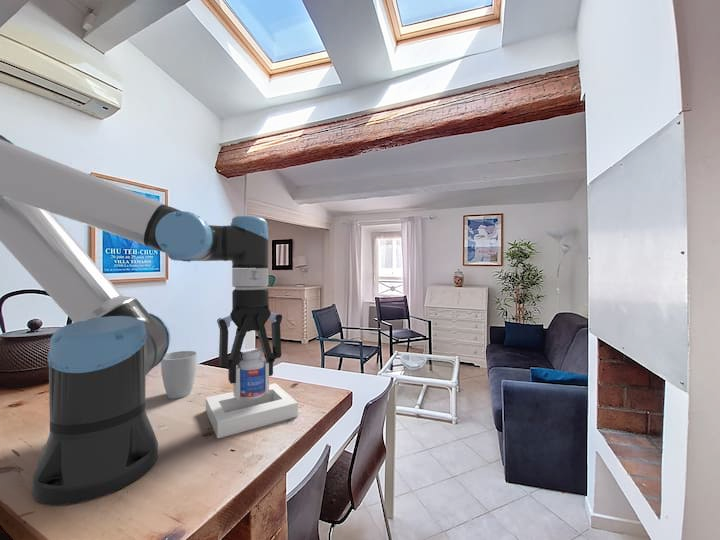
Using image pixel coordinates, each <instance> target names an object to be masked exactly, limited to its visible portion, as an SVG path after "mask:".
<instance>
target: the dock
mask: <svg viewBox="0 0 720 540" xmlns="http://www.w3.org/2000/svg"><path fill="white" fill-rule="evenodd" d="M298 405H299V403H298V402H297V401H296V399H294V398H293V397H292V396H291V395H290V394H289V393H288V392H287V391H285V390H284V389H283V388H282V387H281V386H279V385H278V384H277V383H269V393H265V392H264V394H263V395H262V396H261V397H258V398H255V399H241V398H240V399H238V400H236V398H235V397H234V391H231V392H227V393H221V394H216V395H212V396H211V395H210V396H206V397H205V413H206V414H207V418H208V420H209V422H210V424H211V426H212V428H213V431H214V433H215V435H216V438H217V439H221V438H225V437H229V436H232V435H236V434H239V433H243V432H246V431H251V430H254V429H258V428H261V427H265V426H270V425H272V424H276V423H279V422H283V421H287V420H290V419H294V418H296V417H297V418H298V417H299V414H298V413H299V406H298Z"/></svg>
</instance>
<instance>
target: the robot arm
mask: <svg viewBox="0 0 720 540" xmlns="http://www.w3.org/2000/svg"><path fill="white" fill-rule="evenodd" d="M54 214H55V215H57V216H61V217H63V218H66V219H68V220H71V221H74V222H77V223H80V224H83V225H86V226H89V227H91V228H95V229H97V230H100V231H103V232H106V233H108V234H111V235H115V236H118V237H120V238H124V239H125V240H129V241H132V242H135V243H138V244H140V245H142V246H143V245H144V246H145V247H148V248H151V249H153V250H155V251H159V252H162V253H165V254H166V255H167V257H168V258H169V259H170V260H172V261H181V262H211V261H212V262H213V261H214V262H215V261H217V262H220V261H223V262H227V261H229V262H231V264H232V266H231V268H232V269H231V272H232V273H231V275H232V276H231V278H232V279H231V282H232V283H231V285H232V287H233V288H234V289H233V291H231V292H232V294H231V295H232V296H231V297H232V298H231V301H232V306H231V307H232V309H231V312H230V314H229V315H228V316H225V317H223V318H222V317H218V318H217V320H216V322H217V326H218V328H219V340H218V341H219V342H218V343H219V347H218V363H219V366H220V367H222V368H227V369H228V382H229V383H230V384H233V392H234V397H235V398H236V400H238V399H240V368H239V367H238V366H239V365H238V361H239V358H240V353H241V352H242V351H241V350H242V347H243V344H244V341H245V337H246V334H247V332H252V331H255V332H256V334H257V336H258V340H259V343H260V346H261V351H262V353H263V355H264V359H265V360H264V359H263V361H264V392H265V393H269V384H270V377H272V376H273V374H274V363H275V360H276V359H280V358H281V357H282V341H281V340H282V338H281V323H282V320H283V315H282V314H280V313H275V312H272V311H271V310H270V308H269V307H270V306H269V304H270V303H269V302H270V301H269V300H270V299H269V296H270V295H269V289H268V288H266V287H268V286H269V230H268V222H267V220H266V219H265V218H263V217H260V216H252V215H237V216H234V217H232V219H231V223H230V225H211V224H208V223H207V221H206V220H204V219H203V217H201V216H199V215H197V214H195V213H194V212H190V211H183V210H180V209H177V208H175V207H173V206H169V205H166V204H164V203H163V202H160V201H158V200H155V199H152V198H150V197H147V196H144V195H141V194H139V193H137V192H135V191H132V190H129V189H127V188H124V187H121V186H120V185H117V184H114V183H112V182H109V181H107V180H104V179H101V178H99V177H97V176H94V175H92V174H89V173H86V172H84V171H81V170H78V169H76V168H74V167H71V166H69V165H66V164H63V163H62V162H59V161H56V160H55V159H54V160H53V159H51V158H49V157H46V156H43V155H41V154H39V153H35V152H33V151H31V150H28V149H25V148H23V147H21V146H18V145H16V144H14V142H12V141H11V140H9V139H7V138H6V137H5V136H3V135H1V134H0V242H1V244H2V245H3V246H4V247H5V248H6V249H7V250H8V252H10V254H12V256H13V257H14V258H15V260H17V261H18V262H19V264H20V265H21V266H22V267H23V268H24V269H25V271H27V272H28V274H29V275H30V276H31V277H32V278H33V279H34V280H35V281H36V282H37V283H38V284H39V286H40V287H42V289H43V290H44V291H45V292H46V294H47V295H48V296H49V297H50V298H51V299H52V300H53V301H54V302H55V303H56V304H57V306H58V307H59V308H60V309H61V310H62V312H64V314H66V315H67V316H68V318H69V319H70V320H71V321H72V323H69V324H67V325H64V326H62V327H60V328H58V329H57V330H56V331H55V332H54V333H53V334H52V336H51V337H50V341H49V351H48V352H47V363H48V389H49V390H48V392H49V397H48V398H49V433H48V436H47V437H48V438H47V440H46V442H45V445H44V448H43V450H42V453H41V456H40V458H39V460H38V463H37V465H36V468H35V471H34V474H33V477H32V498H33V500H34V501H35V502H37V503H39V504H43V505H49V506H64V505H72V503H73V504H76V503H83V502H87V501H90V500H93V499H97V498H100V497H103V496H105V495H106V496H107V495H108V494H110V493H112V492H116V491H117V490H120V489H122V488H124V487H126V486H128V485H130V484H131V483H133V482H135V481H136V480H138V479H139V478H141V477H142V476H144V475H145V474H146V473H147V472H148V471H150V470H151V468H152V467H154V465H155V463H156V462H157V460H158V457H159V442H158V439H157V436H156V434H155V431H154V429H153V427H152V424H151V422H150V419H149V417H148V414H147V411H146V376H147V375H148V374H149V373H150V372H151V371H152V369H154V368H155V367H156V366H158V365H159V364H161V361H162V359H163V358H164V356H165V355H166V354H168V353H167V352H168V350H169V348H170V345H171V340H172V339H171V332H170V328H169V326H168V325H167V323H166V322H165V321H164V320H163V319H162V318H160V317H159V316H158V315H156V314H153V313H150V312H149V311H147V309H146V308H145V307H144V306H143V305H142V303H141V302H139V300H138V299H137V298H136V297H133V296H132V297H131V296H125V295H123V294H122V293H121V292H120V291H119V290H118V289H117V287H116V286H115V285H114V283H112V282H111V281H110V279H109V278H108V277H107V275H106V274H105V273H104V272H103V271H102V270H101V269H100V267H98V265H97V264H96V262H94V260H93V259H92V258H91V257H90V256H89V255H88V253H86V251H85V250H84V249H83V248H82V246H81V245H80V243H78V241H76V239H75V238H74V237H73V236H72V234H71V233H70V232H69V231H68V230H67V229H66V227H65V226H64V225H63V224H62V223H61V222H60V221H59V219H58V218H57V217H56V216H55V215H54ZM268 320H269V321H270V322H271V327H270V328H271V344H272V345H271V346H272V348H271V346H270V342H269V339H268V335H267V330H266V327H265V325H266V323H268ZM231 322H233V323H234V325H235V326H236V331H235V337H234V340H233V344H232V347H231V350H230V354H228V353H229V350H228V349H229V327H231ZM228 355H229V358H228Z"/></svg>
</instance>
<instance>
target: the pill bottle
mask: <svg viewBox="0 0 720 540" xmlns="http://www.w3.org/2000/svg"><path fill="white" fill-rule="evenodd" d="M261 357H262V349H260V348H247V349H243V350H242V351H241V359H242V360H240V361H239V363H238V365H237V366H238V367H239V368H240V398H241V399H255V398H258V397H261V396H262V395H263V394H264V359H262V358H261Z"/></svg>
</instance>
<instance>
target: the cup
mask: <svg viewBox="0 0 720 540" xmlns="http://www.w3.org/2000/svg"><path fill="white" fill-rule="evenodd" d="M197 362H198V352H197V351H194V350H180V351H173V352H169V353H166V355H165V356H164V358H163V359H162V361H161V362H160V367H161V368H160V369H161V370H160V371H161V377H162V383H163V387H164V390H165V393H166V396H167V397H168V398H169V399H179V398H180V399H181V398H184V397H187V396H189V395H191V393H192V389H193V387H194V385H195V379H196V374H197V364H198V363H197Z"/></svg>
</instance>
